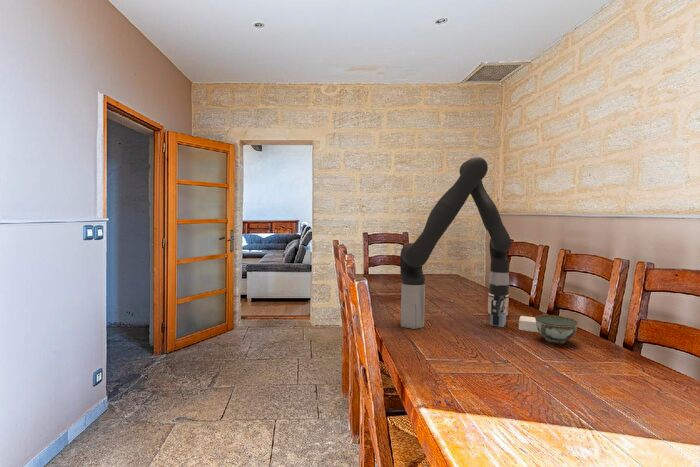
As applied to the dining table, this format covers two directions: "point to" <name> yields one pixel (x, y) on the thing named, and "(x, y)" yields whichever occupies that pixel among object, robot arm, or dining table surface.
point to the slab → (528, 324)
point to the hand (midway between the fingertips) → (498, 322)
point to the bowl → (556, 328)
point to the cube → (501, 319)
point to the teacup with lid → (491, 297)
